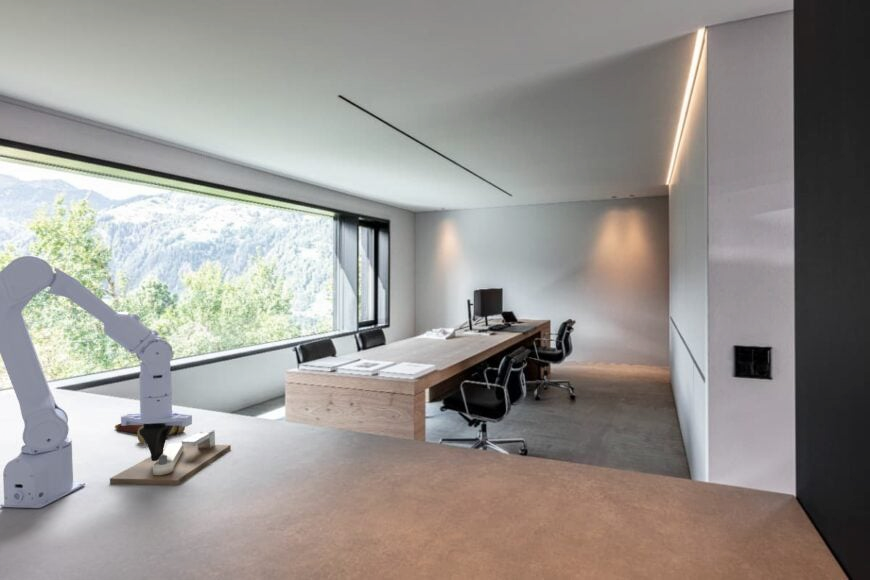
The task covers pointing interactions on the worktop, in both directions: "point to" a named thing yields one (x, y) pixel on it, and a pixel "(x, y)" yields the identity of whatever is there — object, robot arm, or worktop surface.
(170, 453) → the swing link
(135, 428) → the gavel
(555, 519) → the worktop surface
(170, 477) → the pivot board
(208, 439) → the keeper
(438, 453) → the worktop surface
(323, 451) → the worktop surface
